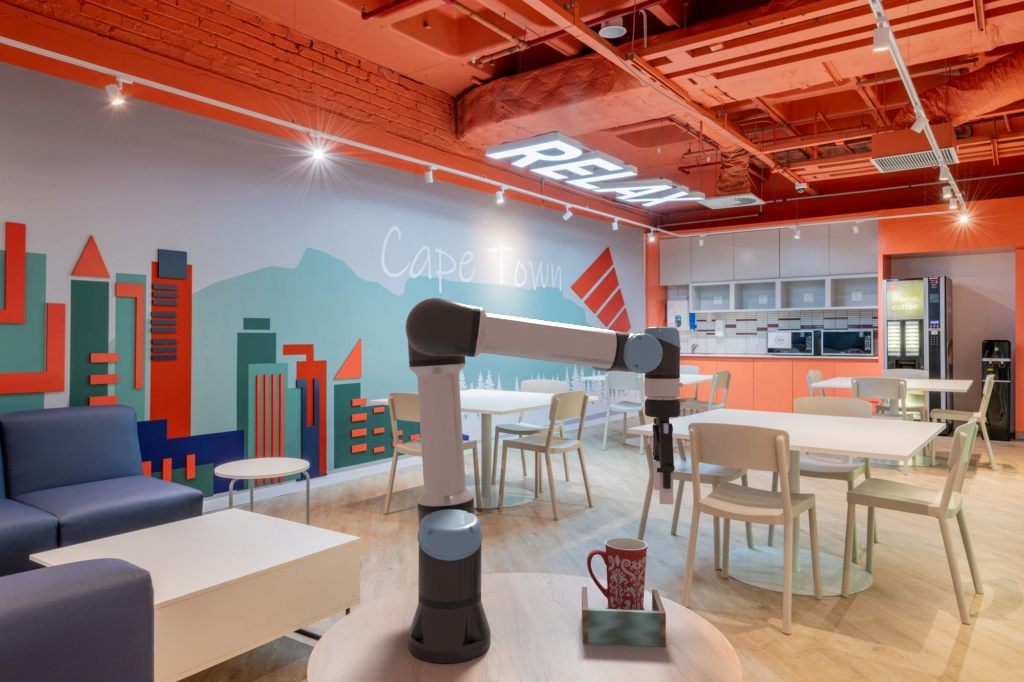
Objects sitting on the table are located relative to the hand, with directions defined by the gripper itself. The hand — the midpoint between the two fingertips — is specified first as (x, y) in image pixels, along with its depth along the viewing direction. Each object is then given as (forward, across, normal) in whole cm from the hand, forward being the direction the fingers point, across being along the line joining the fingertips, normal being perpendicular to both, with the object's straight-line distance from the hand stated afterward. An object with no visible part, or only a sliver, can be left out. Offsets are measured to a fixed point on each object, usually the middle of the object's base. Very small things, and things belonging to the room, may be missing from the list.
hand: (662, 496), depth 139 cm
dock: (+22, -15, +10) cm, 28 cm away
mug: (+23, -5, +10) cm, 25 cm away
